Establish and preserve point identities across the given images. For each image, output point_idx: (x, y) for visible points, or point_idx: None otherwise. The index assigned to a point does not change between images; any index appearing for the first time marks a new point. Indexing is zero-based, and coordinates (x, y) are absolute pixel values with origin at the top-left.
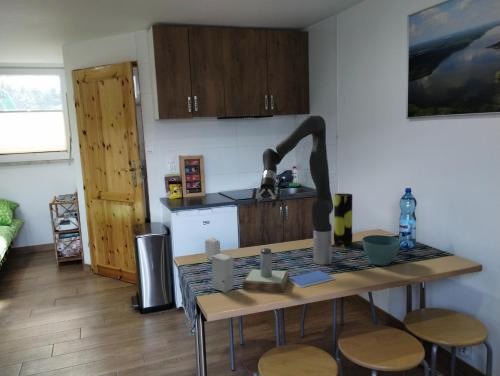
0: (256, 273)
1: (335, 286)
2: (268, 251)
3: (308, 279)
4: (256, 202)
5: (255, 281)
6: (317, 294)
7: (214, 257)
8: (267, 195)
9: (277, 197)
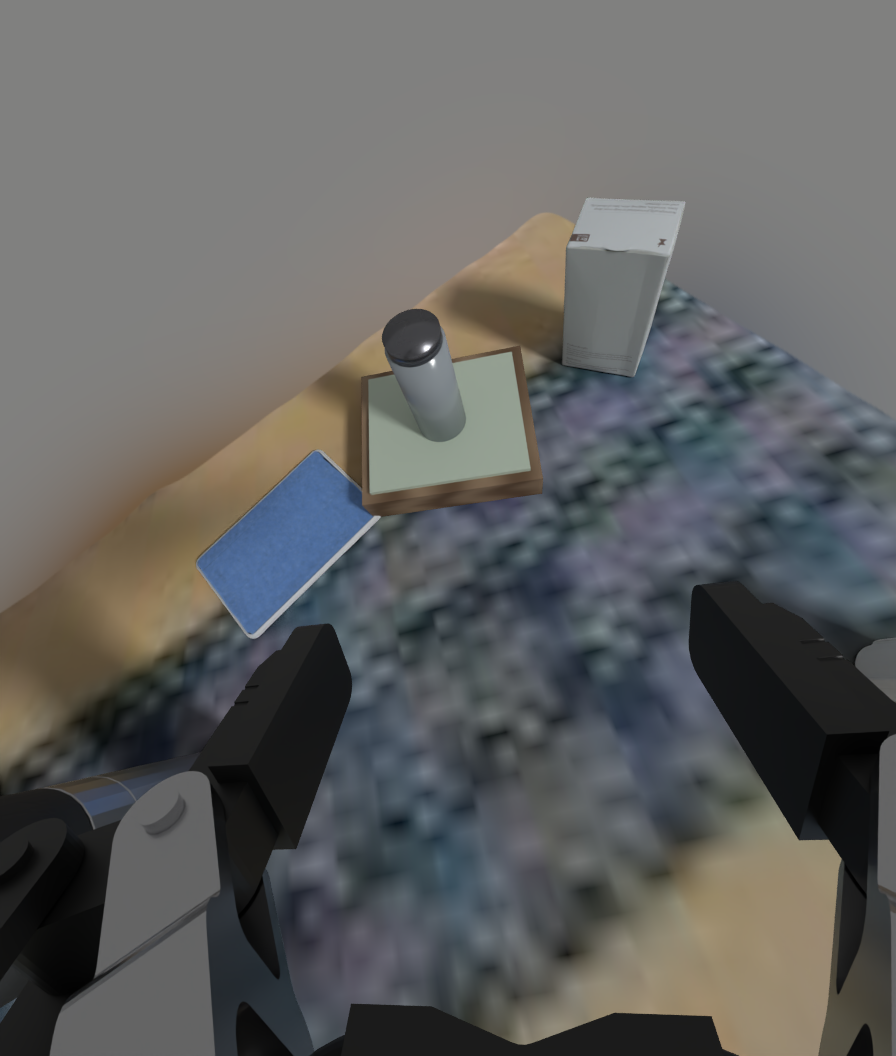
0: (492, 427)
1: (203, 499)
2: (391, 319)
3: (292, 520)
4: (761, 625)
5: (469, 361)
6: (264, 419)
7: (662, 201)
8: (432, 1018)
9: (49, 847)
